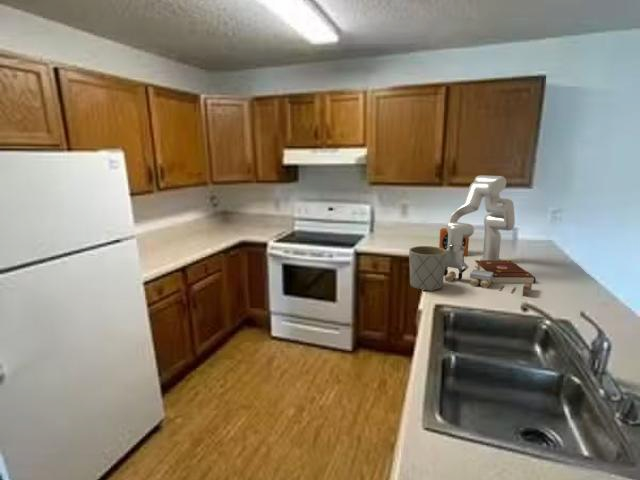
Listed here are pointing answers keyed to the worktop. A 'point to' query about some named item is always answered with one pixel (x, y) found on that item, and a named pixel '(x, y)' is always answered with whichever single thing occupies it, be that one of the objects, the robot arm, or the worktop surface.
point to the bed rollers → (485, 283)
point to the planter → (427, 267)
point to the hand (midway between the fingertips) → (452, 278)
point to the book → (504, 271)
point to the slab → (481, 275)
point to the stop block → (527, 288)
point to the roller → (450, 276)
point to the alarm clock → (444, 240)
